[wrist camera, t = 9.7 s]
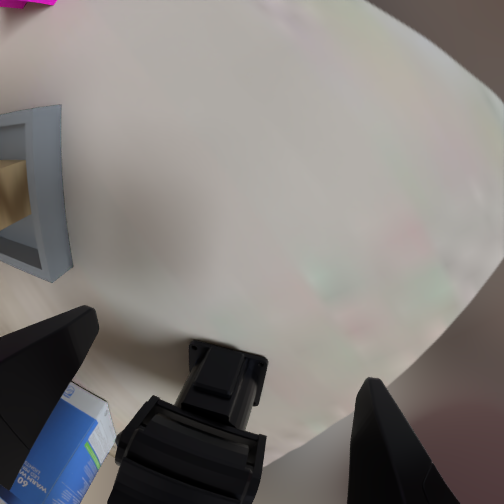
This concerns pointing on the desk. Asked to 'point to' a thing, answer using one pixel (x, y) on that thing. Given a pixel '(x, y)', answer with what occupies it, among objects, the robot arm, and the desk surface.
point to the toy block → (23, 3)
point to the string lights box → (65, 452)
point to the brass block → (13, 192)
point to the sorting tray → (37, 194)
